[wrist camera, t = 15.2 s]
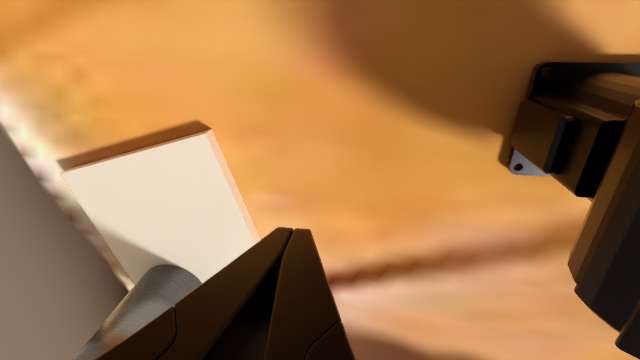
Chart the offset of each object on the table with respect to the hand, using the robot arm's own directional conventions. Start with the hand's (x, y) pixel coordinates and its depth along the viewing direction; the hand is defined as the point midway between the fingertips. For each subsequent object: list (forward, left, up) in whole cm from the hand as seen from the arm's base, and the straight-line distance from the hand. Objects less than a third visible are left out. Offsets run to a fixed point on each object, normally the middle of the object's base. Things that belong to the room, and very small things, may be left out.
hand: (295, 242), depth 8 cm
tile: (+11, +13, -13) cm, 21 cm away
